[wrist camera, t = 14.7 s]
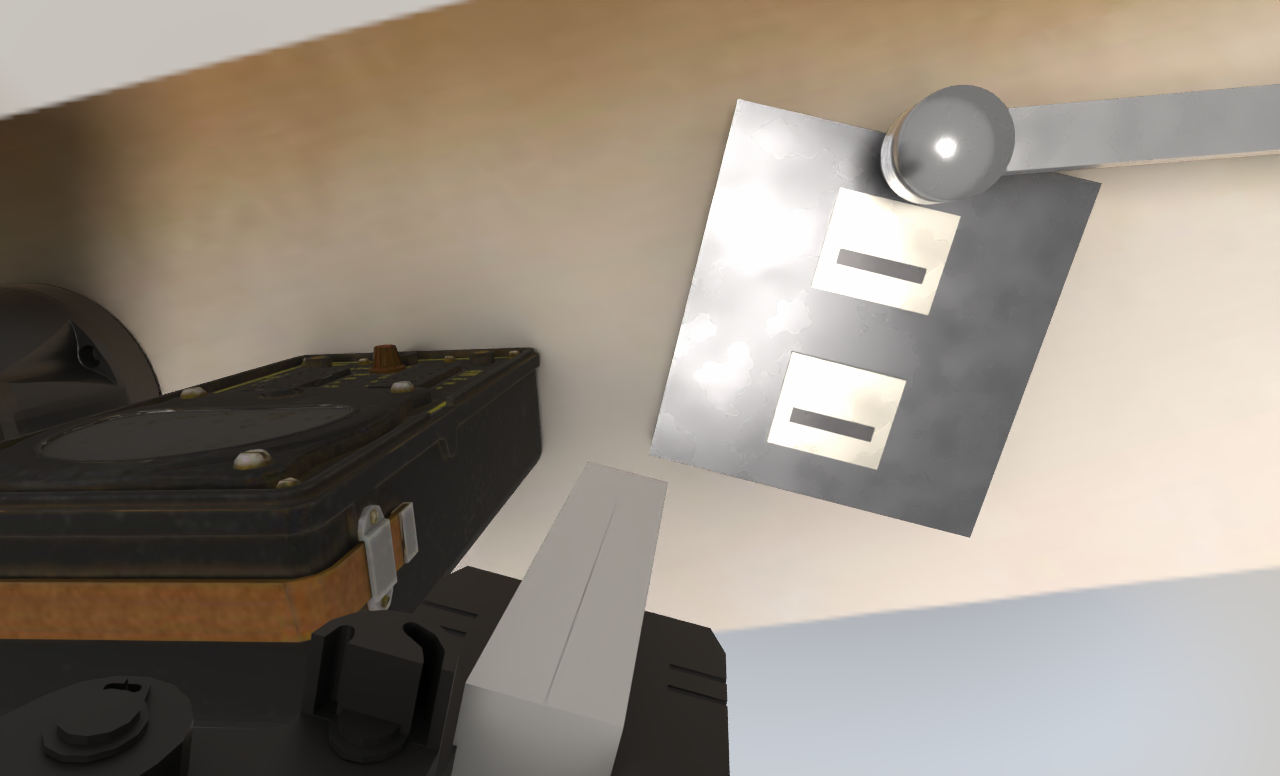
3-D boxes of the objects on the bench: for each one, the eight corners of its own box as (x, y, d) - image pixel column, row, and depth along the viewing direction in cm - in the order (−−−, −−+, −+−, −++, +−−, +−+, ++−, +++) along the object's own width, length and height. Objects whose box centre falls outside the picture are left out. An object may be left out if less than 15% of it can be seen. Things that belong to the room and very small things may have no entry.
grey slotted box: (653, 439, 42) (643, 472, 36) (738, 99, 38) (743, 74, 32) (951, 516, 41) (991, 562, 35) (1074, 177, 37) (1142, 166, 31)
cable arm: (1382, 170, 30) (1471, 161, 26) (880, 208, 32) (900, 204, 29) (1397, 59, 29) (1491, 35, 26) (879, 106, 31) (901, 90, 28)
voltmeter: (545, 330, 41) (306, 462, 17) (555, 471, 43) (353, 772, 19) (294, 339, 43) (-250, 471, 19) (314, 474, 45) (-159, 755, 20)
